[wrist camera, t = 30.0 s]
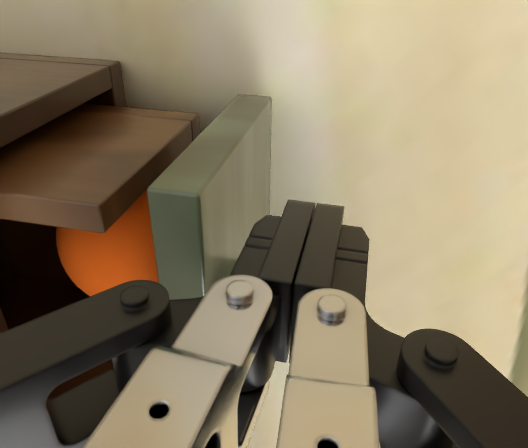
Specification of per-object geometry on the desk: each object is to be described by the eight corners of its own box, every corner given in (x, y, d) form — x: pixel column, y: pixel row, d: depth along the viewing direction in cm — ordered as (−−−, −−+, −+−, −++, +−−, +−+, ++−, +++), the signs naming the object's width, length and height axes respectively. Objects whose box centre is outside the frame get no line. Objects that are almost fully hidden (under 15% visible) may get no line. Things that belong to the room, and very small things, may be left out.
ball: (191, 271, 19) (254, 272, 15) (75, 327, 17) (115, 344, 13) (148, 160, 19) (201, 130, 15) (21, 199, 16) (45, 175, 12)
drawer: (307, 98, 16) (255, 201, 10) (293, 330, 21) (254, 490, 15) (-46, 71, 18) (-267, 138, 12) (22, 284, 24) (-106, 405, 17)
